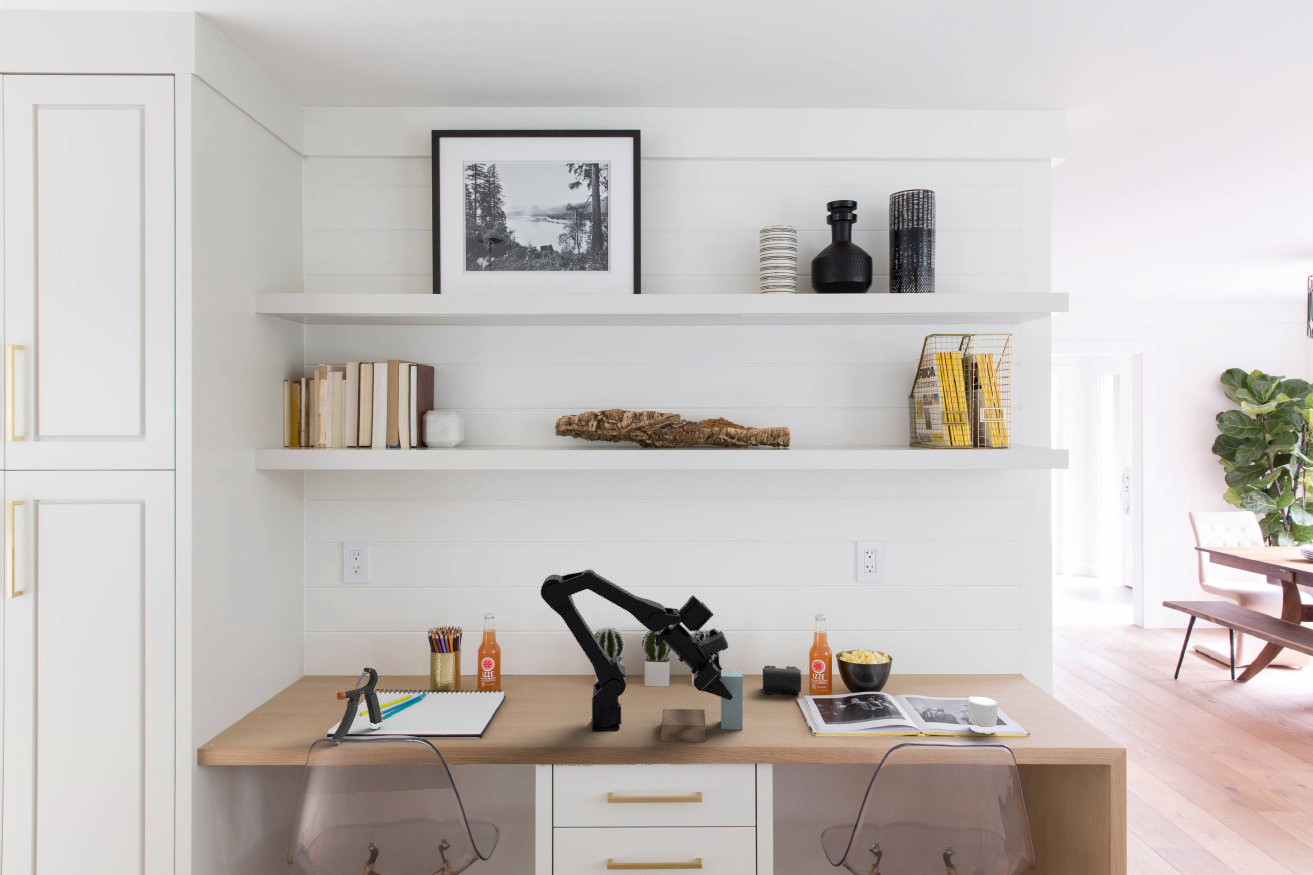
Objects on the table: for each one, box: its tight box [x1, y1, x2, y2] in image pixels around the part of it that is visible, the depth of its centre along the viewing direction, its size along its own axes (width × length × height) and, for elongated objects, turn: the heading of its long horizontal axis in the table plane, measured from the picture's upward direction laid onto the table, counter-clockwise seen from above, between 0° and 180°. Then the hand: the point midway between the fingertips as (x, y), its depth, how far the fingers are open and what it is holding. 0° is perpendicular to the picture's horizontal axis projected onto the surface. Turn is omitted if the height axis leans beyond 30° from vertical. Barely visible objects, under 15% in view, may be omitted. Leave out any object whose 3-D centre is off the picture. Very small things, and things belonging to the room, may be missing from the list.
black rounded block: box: [762, 665, 802, 695], centre depth 202 cm, size 10×7×7 cm
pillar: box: [720, 669, 744, 731], centre depth 179 cm, size 5×5×12 cm
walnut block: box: [660, 708, 707, 743], centre depth 175 cm, size 10×10×4 cm
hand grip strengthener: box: [331, 667, 383, 740], centre depth 173 cm, size 2×12×15 cm, turn 149°
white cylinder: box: [966, 695, 999, 727], centre depth 177 cm, size 7×7×7 cm
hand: (730, 691), depth 180 cm, fingers open, 9 cm apart
